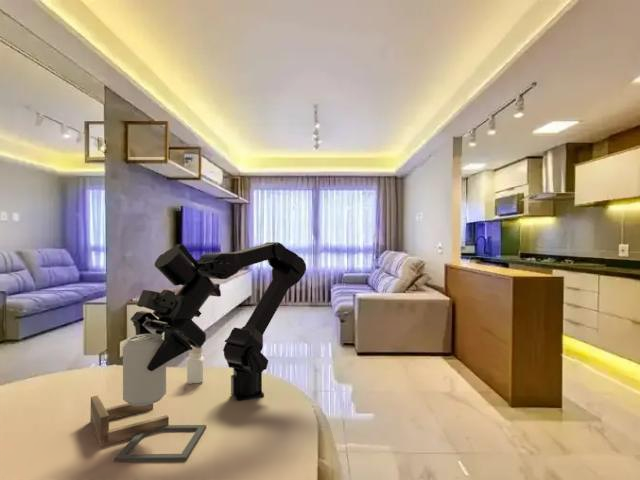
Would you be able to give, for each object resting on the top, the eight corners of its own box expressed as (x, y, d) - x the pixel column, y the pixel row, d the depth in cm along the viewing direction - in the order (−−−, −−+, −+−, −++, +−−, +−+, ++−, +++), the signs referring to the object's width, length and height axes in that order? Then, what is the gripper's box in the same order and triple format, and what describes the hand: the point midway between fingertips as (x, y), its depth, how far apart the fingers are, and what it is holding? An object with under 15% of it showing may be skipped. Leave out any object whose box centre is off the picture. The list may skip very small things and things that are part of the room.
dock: (151, 407, 86) (151, 384, 86) (168, 427, 76) (168, 401, 76) (90, 421, 79) (90, 396, 79) (100, 446, 69) (100, 417, 69)
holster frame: (145, 428, 76) (145, 425, 76) (206, 427, 76) (206, 424, 76) (113, 461, 64) (113, 457, 64) (186, 461, 64) (186, 457, 64)
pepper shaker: (188, 379, 104) (188, 344, 105) (203, 378, 105) (203, 343, 105) (186, 384, 100) (187, 347, 101) (202, 383, 101) (203, 346, 102)
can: (143, 410, 68) (142, 342, 69) (113, 404, 71) (113, 338, 72) (175, 395, 75) (174, 333, 75) (146, 390, 78) (146, 330, 78)
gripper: (139, 272, 82) (83, 334, 73) (192, 276, 71) (132, 349, 62) (173, 305, 89) (124, 365, 80) (226, 313, 77) (177, 384, 68)
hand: (137, 366), depth 72 cm, fingers closed on can, 7 cm apart
